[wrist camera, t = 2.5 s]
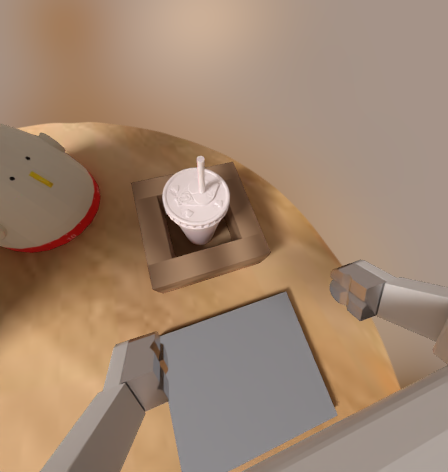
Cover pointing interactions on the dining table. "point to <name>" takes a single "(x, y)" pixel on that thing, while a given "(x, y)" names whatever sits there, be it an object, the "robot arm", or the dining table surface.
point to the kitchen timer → (42, 193)
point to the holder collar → (204, 261)
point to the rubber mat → (242, 385)
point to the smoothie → (196, 201)
